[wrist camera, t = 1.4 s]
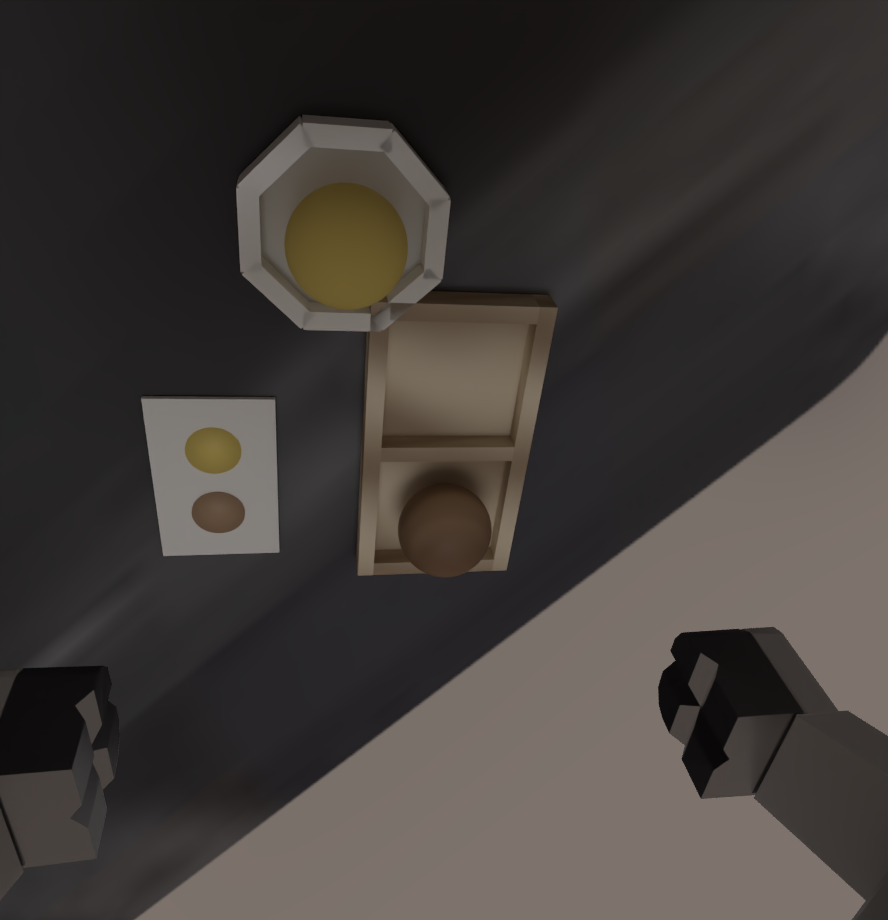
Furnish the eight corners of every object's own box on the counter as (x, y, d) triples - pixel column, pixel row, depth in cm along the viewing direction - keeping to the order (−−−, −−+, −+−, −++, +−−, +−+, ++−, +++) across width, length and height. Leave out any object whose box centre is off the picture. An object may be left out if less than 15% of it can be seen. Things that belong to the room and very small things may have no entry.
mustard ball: (283, 164, 25) (282, 200, 22) (404, 171, 26) (420, 207, 23) (285, 280, 27) (284, 328, 24) (396, 283, 28) (410, 331, 25)
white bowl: (234, 109, 24) (232, 117, 23) (451, 125, 26) (457, 133, 25) (244, 314, 28) (243, 328, 27) (432, 319, 30) (437, 333, 29)
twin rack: (368, 288, 28) (371, 301, 27) (549, 295, 30) (557, 307, 29) (356, 557, 36) (357, 575, 35) (500, 553, 37) (506, 570, 36)
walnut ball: (396, 465, 33) (407, 524, 30) (486, 464, 34) (507, 522, 30) (390, 536, 35) (400, 599, 32) (475, 534, 36) (493, 595, 33)
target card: (141, 395, 29) (140, 399, 29) (275, 396, 30) (274, 401, 30) (163, 552, 34) (162, 557, 34) (279, 549, 35) (279, 554, 35)
